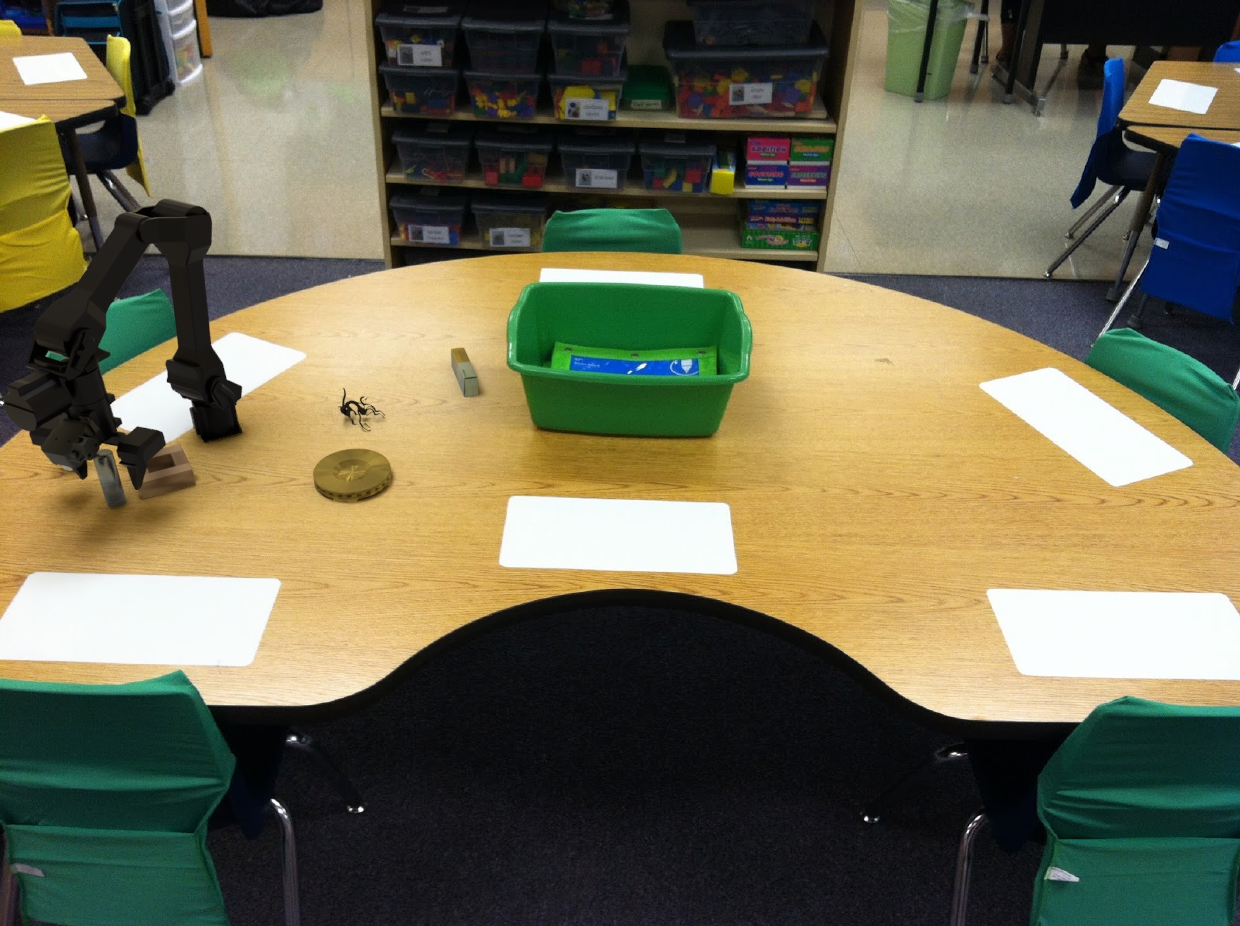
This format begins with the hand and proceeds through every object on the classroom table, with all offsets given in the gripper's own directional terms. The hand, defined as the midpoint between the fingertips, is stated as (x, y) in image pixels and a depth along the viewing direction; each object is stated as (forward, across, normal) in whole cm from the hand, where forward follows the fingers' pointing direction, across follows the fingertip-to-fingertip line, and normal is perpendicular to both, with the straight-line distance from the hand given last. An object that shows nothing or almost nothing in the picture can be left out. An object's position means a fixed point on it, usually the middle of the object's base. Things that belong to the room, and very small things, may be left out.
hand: (111, 483), depth 157 cm
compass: (+4, +32, +16) cm, 36 cm away
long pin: (+4, 0, 0) cm, 4 cm away
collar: (+4, +3, +7) cm, 9 cm away
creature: (+4, +26, +32) cm, 42 cm away
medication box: (+4, +37, +50) cm, 63 cm away
